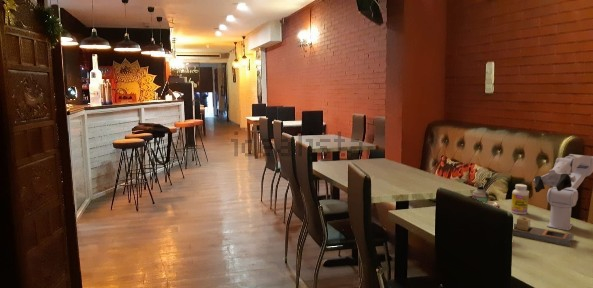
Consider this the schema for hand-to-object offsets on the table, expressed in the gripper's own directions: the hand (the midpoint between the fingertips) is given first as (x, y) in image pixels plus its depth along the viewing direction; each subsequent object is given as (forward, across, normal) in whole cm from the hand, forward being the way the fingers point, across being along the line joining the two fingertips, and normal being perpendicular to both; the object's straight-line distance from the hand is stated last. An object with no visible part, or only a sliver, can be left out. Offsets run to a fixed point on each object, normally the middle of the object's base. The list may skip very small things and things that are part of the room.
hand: (546, 189), depth 169 cm
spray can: (+20, -21, +9) cm, 31 cm away
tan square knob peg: (+5, -12, +16) cm, 21 cm away
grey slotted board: (+4, -7, +18) cm, 19 cm away
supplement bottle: (-23, -25, +21) cm, 40 cm away
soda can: (+14, -20, +11) cm, 27 cm away
